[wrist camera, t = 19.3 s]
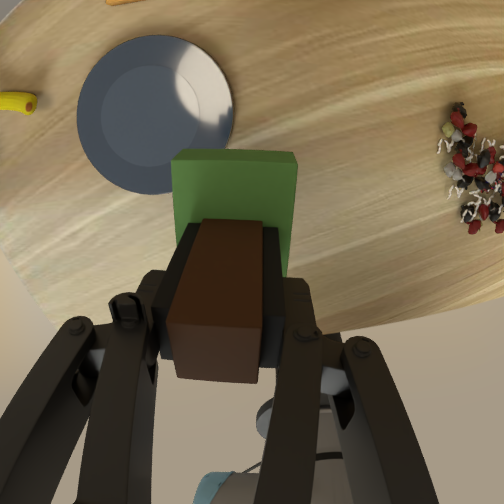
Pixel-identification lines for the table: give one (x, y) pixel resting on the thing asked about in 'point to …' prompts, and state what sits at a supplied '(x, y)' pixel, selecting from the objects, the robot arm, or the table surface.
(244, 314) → the sponge brush
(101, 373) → the robot arm
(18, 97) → the fruit
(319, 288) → the table surface
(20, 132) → the table surface
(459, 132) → the dark lumpy cluster
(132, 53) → the plate
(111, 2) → the orange flat block
